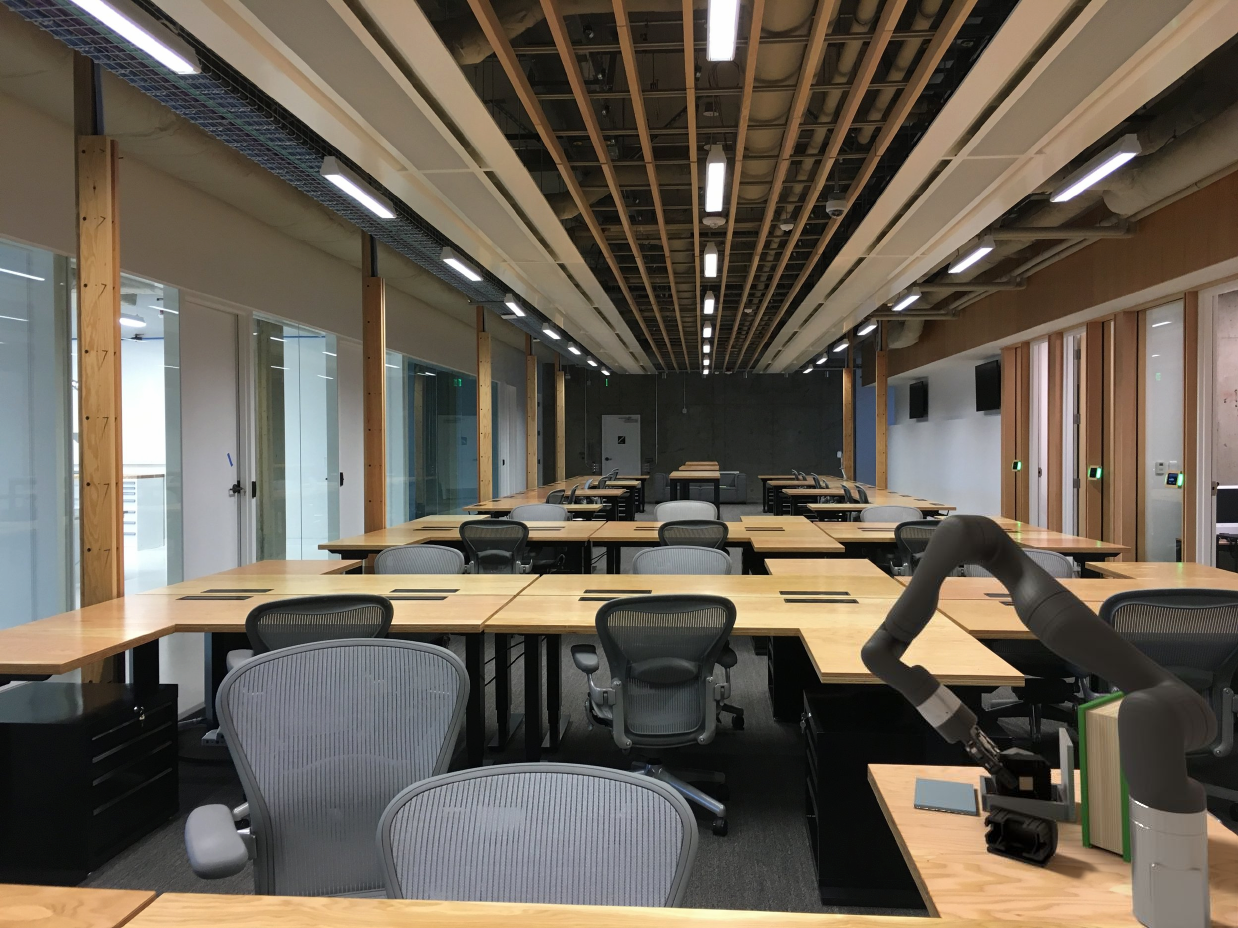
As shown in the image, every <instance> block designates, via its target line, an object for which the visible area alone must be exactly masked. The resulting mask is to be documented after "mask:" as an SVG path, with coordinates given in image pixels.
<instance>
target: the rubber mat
mask: <svg viewBox="0 0 1238 928" xmlns="http://www.w3.org/2000/svg"><path fill="white" fill-rule="evenodd" d="M913 797H914V799H913V808H914V807H918V808H919V807H920V808H928V809H935V810H936V809H937V810H945V811H950V812H956V813H955V814H958V813H963V814H962V815H966V814H971V815H970V816H974V815H976V816H977V808H976V797H975V785H974V783H967V782H958V781H950V780H949V781H948V780H940V779H934V778H932V779H931V778H924V777H922V778H921V777H916V778H915V788H914V795H913ZM918 808H917V809H918ZM950 812H949V813H950Z"/></svg>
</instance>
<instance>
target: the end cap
mask: <svg viewBox="0 0 1238 928" xmlns="http://www.w3.org/2000/svg"><path fill="white" fill-rule="evenodd" d="M983 824H984V827H985V828H988V827H990V829H989V830H988V831H987V832H986V833H985V834H984V839H985V840H984V841H985V844H986V845H987V846H986V852H987V853H989V854H993V855H996V856H999V857H1002V858H1005V859H1010V860H1014V861H1015V862H1019V863H1022V864H1026V865H1030V866H1033V867H1036V868H1040V869H1043V868H1045V867H1046V866H1047V865H1048V864H1049V862H1050V861H1051V859H1052V857H1054V856H1055V854H1056V853H1057V849H1058V844H1059V843H1058V842H1059V828H1058V824H1057V820H1054V819H1052V818H1048V817H1044V816H1040V815H1036V814H1032V813H1028V812H1024V811H1020V810H1016V809H1012V808H1009V807H1005V806H1001V805H997V804H991V805H990V812H989V814H988V815H987V816H986V817H985V818H984V822H983Z"/></svg>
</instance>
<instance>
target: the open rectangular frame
mask: <svg viewBox="0 0 1238 928" xmlns="http://www.w3.org/2000/svg"><path fill="white" fill-rule="evenodd" d="M1058 731H1059V733H1058V734H1059V758H1060V759H1059V761H1060V783H1056V782H1055V783H1054V782H1051V783H1052V784H1051V790H1052V792H1051V793H1052V794H1051V795H1052V802H1051V801H1042V800H1034V799H1025V798H1016V797H1008V796H999V795H996V792H997V791H996V786H995V784H994V782H993V779H992V777H991V775H981V774H979V792H980V793H979V794H980V802H981V810H982V812H987V811H989V813H990V805H991V804H997V805H1001V806H1005V807H1009V808H1012V809H1016V810H1020V811H1024V812H1028V813H1032V814H1036V815H1040V816H1044V817H1048V818H1052V819H1054V820H1055V821H1062V822H1071V823H1076V822H1077V821H1076V819H1077V818H1076V817H1077V816H1076V797H1075V795H1076V792H1075V787H1076V786H1075V762H1074V761H1075V760H1074V758H1075V757H1074V744H1073V743H1072V739H1071V738H1070V735H1069V734H1068V732H1067V729H1066V728H1065V727H1059V730H1058ZM989 792H992V793H991V794H989ZM987 793H988V794H987Z"/></svg>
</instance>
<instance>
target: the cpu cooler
mask: <svg viewBox="0 0 1238 928" xmlns="http://www.w3.org/2000/svg"><path fill="white" fill-rule="evenodd" d="M1000 752H1001V751H1000ZM996 758H997V759H998V760H999V761H1000V762H1001V763H1002V764H1003V766H1004V767H1005V768H1006V769H1007V770H1008V771H1009V772H1010V773H1011V774H1012V775H1013V776H1014V777H1015V778H1016V779H1017V780H1018V785H1017V786H1016V787H1014V788H1013V789H1009V788H1008V787H1007V786H1006V785H1005V784H1004V783H1003V782H1002V781H1001V780H1000V779H999V778H998V777H997V776H996V775H990V776H991V777H992V779H993V782H994V784H995V786H996V791H997V792H996V793H995V795H999V796H1008V797H1016V798H1025V799H1034V800H1042V801H1051V802H1053V800H1052V795H1051V794H1052V793H1051V792H1052V790H1051V784H1052V783H1053V782H1052V765H1051V763H1050V762H1048V761H1047V760H1046V759H1045V758H1044V757H1043V756H1042V755H1041V754H1034V753H1033V752H1031V751H1027V750H1025V749H1020V748H1018V747H1012V748H1010V749H1006V750H1004V751H1002V752H1001V753H998V752H996ZM988 764H989V765H990V766H991V767H992V766H993V765H994V764H993V763H992V762H991V761H989V763H988Z"/></svg>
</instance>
